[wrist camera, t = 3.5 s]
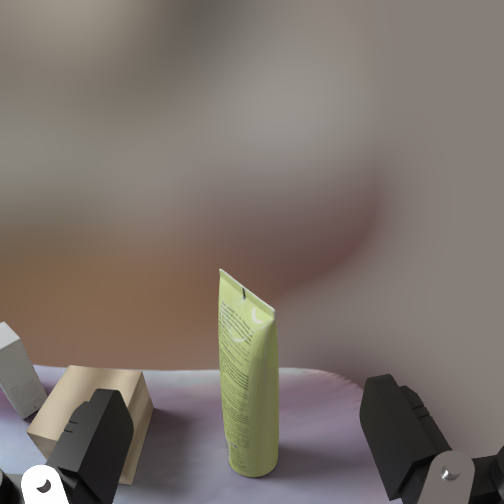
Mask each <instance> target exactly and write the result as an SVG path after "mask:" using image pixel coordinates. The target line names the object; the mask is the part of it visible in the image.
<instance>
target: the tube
mask: <svg viewBox="0 0 504 504" xmlns="http://www.w3.org/2000/svg"><path fill="white" fill-rule="evenodd" d="M219 356H220V357H219V358H220V379H221V395H222V408H223V419H224V429H225V437H226V445H227V452H228V459H229V463H230V466H231V467H232V469H233V470H234V471H235V472H237V473H238V474H240V475H243V476H246V477H260V476H263V475H266V474H268V473H269V472H271V471H272V470H273V469H274V468H275V466H276V464H277V462H278V447H279V373H278V341H277V326H276V310H275V309H274V308H272V307H271V306H269V305H268V304H266V303H265V302H264V301H262V300H261V299H260V298H258V297H257V296H256V295H254V294H253V293H252V292H250V291H249V290H248V289H246V288H245V287H244V286H242V285H241V284H240V283H238V282H237V281H236V280H235V279H234V278H232V277H231V276H230V275H229V274H227V273H226V272H225V271H223V270H222V269H220V289H219Z"/></svg>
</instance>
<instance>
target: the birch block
mask: <svg viewBox="0 0 504 504" xmlns="http://www.w3.org/2000/svg"><path fill="white" fill-rule="evenodd" d="M97 388H102V389H112V390H119V391H120V393H121V394H122V397H123V399H124V402H125V404H126V406H127V409H128V411H129V413H130V416H131V418H132V420H133V424H134V435H133V438H132V442H131V445H130V448H129V451H128V454H127V457H126V460H125V463H124V466H123V470H122V473H121V476H120V479H119V483H120V484H126V485H132V483H133V479H134V475H135V472H136V468H137V464H138V461H139V457H140V454H141V450H142V446H143V443H144V439H145V436H146V433H147V429H148V426H149V422H150V419H151V416H152V412H153V409H154V406H153V403H152V401H151V398H150V395H149V392H148V389H147V386H146V383H145V379H144V376H143V373H142V371H130V370H115V369H102V368H91V367H81V366H72V365H70V366H69V367H68V368H67V370H66V371H65V373H64V374H63V376H62V377H61V379H60V380H59V382H58V383H57V384H56V386H55V387H54V389H53V390H52V392H51V393H50V395H49V396H48V398H47V400H46V401H45V403H44V404H43V406H42V407H41V409H40V410H39V412H38V413H37V415H36V417H35V418H34V420H33V421H32V423H31V425H30V426H29V428H28V430H27V431H26V432H27V434H28V435H29V436H30V438H31V439H32V441H33V442H34V444H35V445H36V446H37V448H38V449H39V450H40V452H41V453H42V454H43V456H44V457H45V458H46V459H47V461H48V459H49V457H50V455H51V453H52V451H53V449H54V447H55V445H56V443H57V441H58V439H59V437H60V435H61V434H62V432H64V428H65V426H66V424H67V423H69V419H70V417H71V415H72V413H73V412H74V410H75V409H76V408H77V407H78V406H80V405H81V404H82V403H83V402H84V401H88V402H89V400H90V399H91V397H92V395H93V393H94V391H95V390H96V389H97Z"/></svg>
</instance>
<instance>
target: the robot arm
mask: <svg viewBox="0 0 504 504" xmlns="http://www.w3.org/2000/svg"><path fill="white" fill-rule="evenodd" d="M360 423H361V427H362V429H363V432H364V434H365V437H366V439H367V442H368V445H369V447H370V450H371V452H372V455H373V458H374V460H375V463H376V465H377V468H378V471H379V473H380V476H381V479H382V482H383V484H384V487H385V490H386V492H387V495H388V498H389V501H391V500H395V499H398V498H401V499H402V502H403V504H504V446H503V447H502V448H501V449H500V451H499V452H498V454H497V455H493V456H487V457H481V458H473V459H471V458H470V457H469V456H468V455H466V454H465V453H462V452H459V451H453V450H452V449H451V448H450V446H449V445H448V443H447V441H446V440H445V438H444V436H443V435H442V433H441V431H440V430H439V428H438V426H437V425H436V423H435V422H434V420H433V418H432V417H431V416H430V415H429V412H428V410H427V409H426V407H424V404H423V402H422V401H421V399H420V398H419V396H418V395H417V393H415V392H414V391H412V390H411V389H410V388H408V387H407V386H401V387H399V386H398V385H397V383H396V381H395V380H394V378H393V377H392V376H391V375H390V374H386V375H381V376H376V377H370V378H367V380H366V383H365V388H364V393H363V397H362V402H361V407H360ZM133 435H134V424H133V420H132V418H131V416H130V413H129V411H128V409H127V406H126V404H125V402H124V399H123V397H122V394H121V393H120V391H119V390H112V389H102V388H97V389H96V390H95V391H94V393H93V395H92V397H91V399H90V400H89V402H88V401H84V402H83V403H82V404H81V405H80V406H78V407H77V408H76V409H75V410H74V412H73V413H72V415H71V417H70V419H69V423H67V424H66V426H65V428H64V432H62V434H61V435H60V437H59V439H58V441H57V443H56V445H55V447H54V449H53V451H52V453H51V455H50V457H49V459H48V461H47V462H46V464H45V465H39V466H35V467H33V468H31V469H29V470H28V471H27V472H26V473H25V475H17V474H5V473H4V472H3V471H2V470H1V469H0V504H112V503H113V499H114V496H115V492H116V489H117V486H118V483H119V479H120V476H121V473H122V470H123V466H124V463H125V460H126V457H127V454H128V451H129V448H130V445H131V442H132V438H133Z"/></svg>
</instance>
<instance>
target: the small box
mask: <svg viewBox="0 0 504 504" xmlns="http://www.w3.org/2000/svg"><path fill="white" fill-rule="evenodd" d="M0 387H1V389H2V391H3V392H4V394H5V395H6V397H7V398H8V400H9V401H10V403H11V404H12V405H13V407H14V408H15V410H16V411H17V412H18V414H19V415H20V416H21V418H22V419H25V418H27V417H28V416H29V415H31V414H32V413H34V412H35V411H37V410H38V409H40V408H41V407H42V406H43V404H44V403H45V401H46V400H47V398H48V395H47V393H46V391H45V389H44V388H43V386H42V384H41V382H40V380H39V378H38V376H37V374H36V372H35V369H34V367H33V365H32V363H31V361H30V359H29V356H28V354H27V352H26V350H25V347H24V345H23V343H22V340H21V338H20V337H19V336H18V335H17V334H16V333H15V332H14V331H13V330H12V329H11V328H10V327H9V326H8V325H7V324H6V323H5V322H2V323H0Z"/></svg>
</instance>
